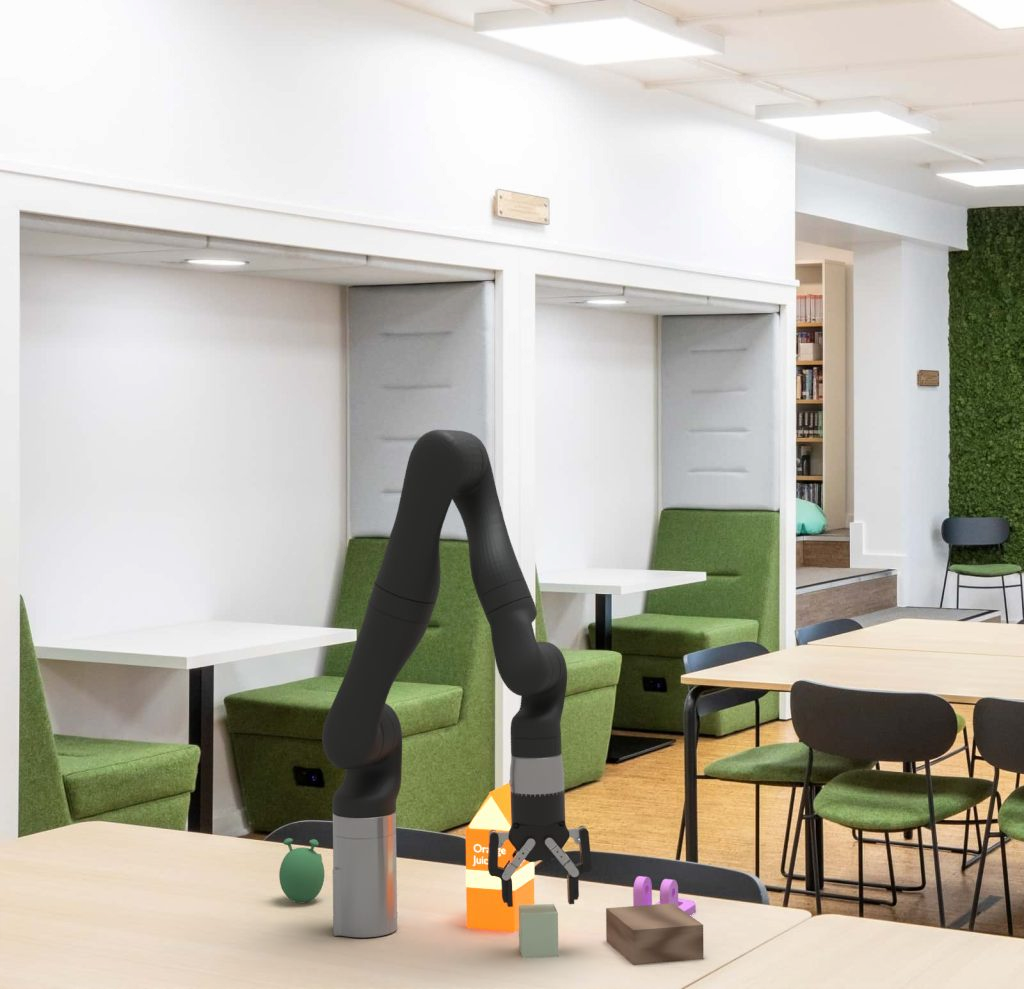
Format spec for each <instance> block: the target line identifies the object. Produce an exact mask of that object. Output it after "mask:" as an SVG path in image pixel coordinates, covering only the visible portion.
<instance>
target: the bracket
mask: <svg viewBox="0 0 1024 989" xmlns="http://www.w3.org/2000/svg"><path fill="white" fill-rule="evenodd" d="M652 886H653V885H652V880H651V878H650V877H649V876H641V875H638V876H637V877H636V878H635V880H634V883H633V889H632V891H633V892H632V896H633V898H632V899H633V900H632V901H633V903H632V904H633V905H632V906H643V905H656V904H670V903H673V904H675V905H676V906H677V907H679V908H680V909H682V910H683V911H684V912H686V913H687V914H689V915H691V916H692V914H693V913H694V914H695V913H696V907H697V904H696V902H695V901H694V900H691V899H688V898H679V885H678V882H677V880H676V879H669V878H664V879H663V880H662V881H661V884H660V887H659V888H660V889H659V901H658V902H656V903H654V904H653V889H652V888H653V887H652ZM694 914H693V915H694Z"/></svg>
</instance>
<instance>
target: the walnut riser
mask: <svg viewBox="0 0 1024 989" xmlns="http://www.w3.org/2000/svg"><path fill="white" fill-rule="evenodd" d="M655 904H656V903H655ZM605 911H606V912H605V916H606V917H605V924H606V925H605V926H606V928H605V933H606V934H605V935H606V936H605V937H606V939H605V940H606V943H607V944H609V945H610V946H611V947H612V948H613V949H614V950H616V951H617V952H618V953H619V954H620V955H621V956H622V957H623V958H625V959H626V960H627V961H628V962H629V963H631V964H632V966H640V965H641V966H642V965H650V964H651V965H652V964H663V963H672V962H674V963H675V962H685V961H698V960H704V924H703V923H701V922H700V921H699V920H697V919H696V918H694V917H693V916H692V915H691V916H690V915H689V914H687V913H686V912H684V911H683V910H682V909H680V908H679V907H677V906H676V905H675V904H673V903H670V904H656V905H654V904H652V905H643V906H633V905H631V906H629V905H628V906H620V907H619V906H618V907H617V906H616V907H606V908H605Z"/></svg>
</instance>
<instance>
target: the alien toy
mask: <svg viewBox="0 0 1024 989" xmlns="http://www.w3.org/2000/svg"><path fill="white" fill-rule="evenodd" d="M293 842H294V839H293V838H290V837H288V838H285V839H284V841H283V842H282V843H283V845H284V846H285V845H286V846H288V850H289V851H288V852H287V853H286V854H285V855H284V858H283V859H282V861H281V863H280V867H279V873H278V874H279V875H278V877H279V878H278V879H279V885H280V887H281V889H282V893H284V895H285V896H286V897H287V899H289V900H291V901H292V902H294V901H295V902H294V903H298V902H305V903H308V901H309V902H312V900H315V898H317V897H318V895H319V894H320V893H321V891H322V888H323V885H324V881H325V866H324V862H323V858H322V854H321V853H318V852H316V851H315V850H314V848H315V847H318V846H319V845H320V844H319V841H318V840H317V839H314V838H313V839H310V840H309V844H310V845H311V846H310V848H308V847H296V848H293V847H292V843H293Z"/></svg>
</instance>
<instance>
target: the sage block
mask: <svg viewBox="0 0 1024 989" xmlns="http://www.w3.org/2000/svg"><path fill="white" fill-rule="evenodd" d="M518 909H519V929H518V949H519V952H520V956H521V958H522V959H526V958H553V957H554V958H555V957H556V958H557V957H559V913H558V910H557V907H556V905H555V903H542V904H541V903H540V904H537V903H536V904H534V905H518Z"/></svg>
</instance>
